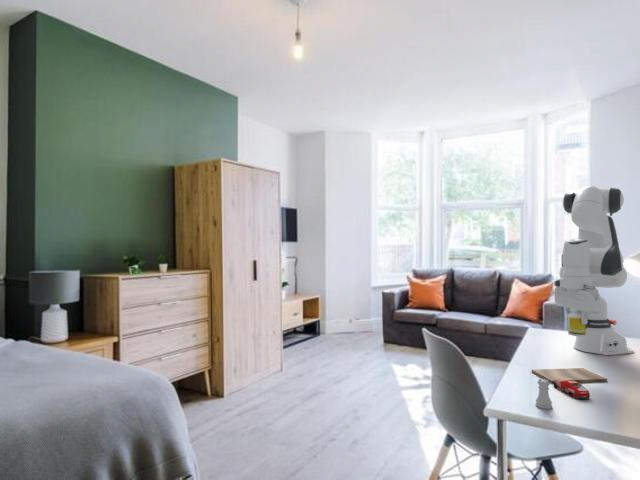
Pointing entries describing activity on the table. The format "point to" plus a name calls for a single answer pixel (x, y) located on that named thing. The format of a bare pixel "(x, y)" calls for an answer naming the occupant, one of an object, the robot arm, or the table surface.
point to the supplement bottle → (576, 323)
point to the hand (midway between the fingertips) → (577, 322)
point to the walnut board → (569, 375)
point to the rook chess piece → (543, 395)
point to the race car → (572, 388)
